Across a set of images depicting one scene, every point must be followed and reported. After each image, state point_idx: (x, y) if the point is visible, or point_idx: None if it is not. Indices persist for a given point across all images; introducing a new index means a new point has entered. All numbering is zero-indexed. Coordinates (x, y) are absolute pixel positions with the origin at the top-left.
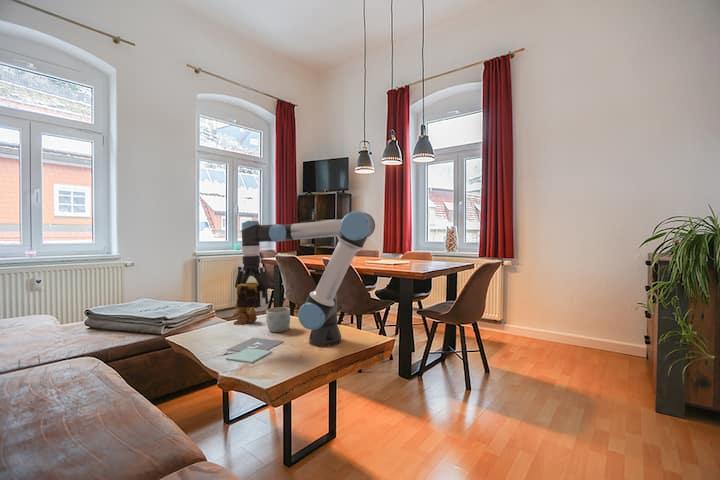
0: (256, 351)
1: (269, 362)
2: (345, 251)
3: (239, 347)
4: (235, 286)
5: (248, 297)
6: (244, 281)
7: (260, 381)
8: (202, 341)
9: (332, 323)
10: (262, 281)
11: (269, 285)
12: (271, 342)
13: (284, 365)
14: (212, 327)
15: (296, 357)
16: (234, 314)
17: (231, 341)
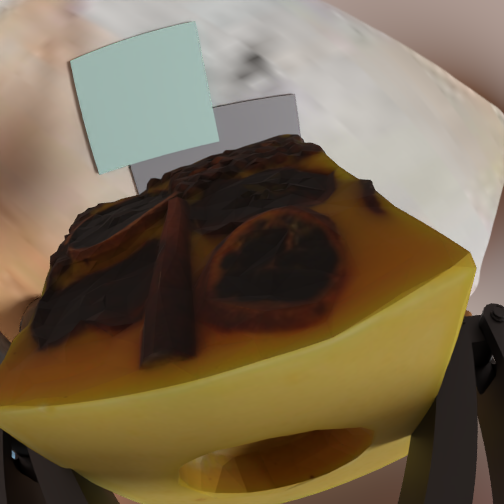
0: (147, 135)
1: (31, 109)
2: None
3: (264, 135)
4: (500, 310)
5: (156, 234)
6: (424, 445)
7: None
8: (441, 134)
9: None
10: (6, 498)
11: (20, 465)
12: None
13: None
14: (483, 244)
15: (6, 196)
16: (466, 313)
17: (358, 177)
